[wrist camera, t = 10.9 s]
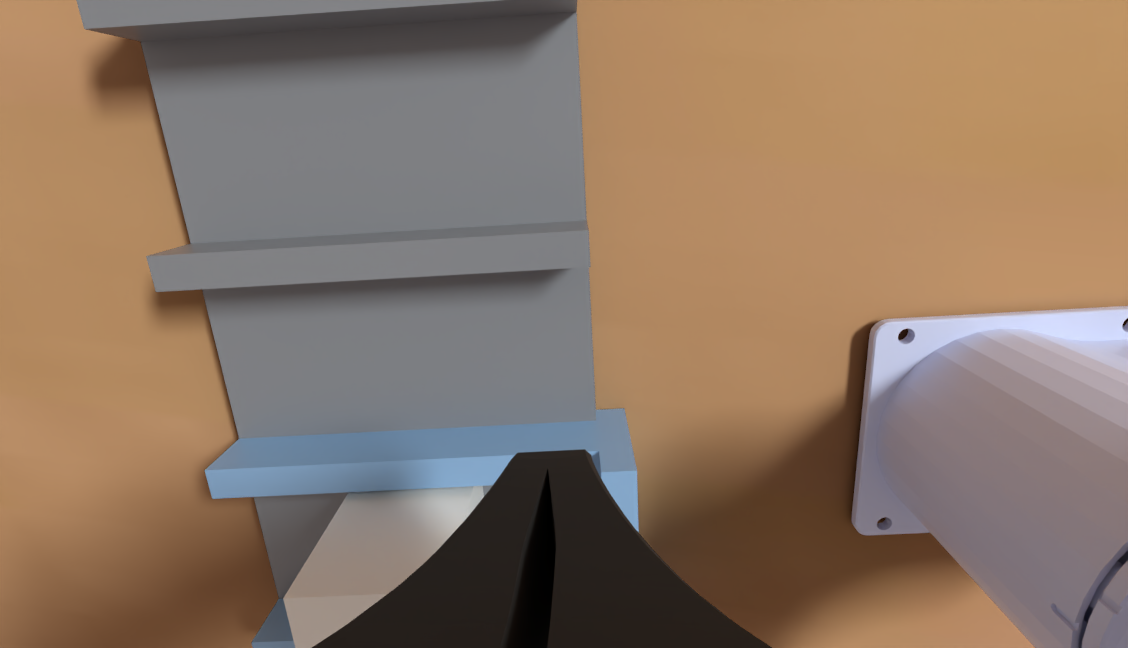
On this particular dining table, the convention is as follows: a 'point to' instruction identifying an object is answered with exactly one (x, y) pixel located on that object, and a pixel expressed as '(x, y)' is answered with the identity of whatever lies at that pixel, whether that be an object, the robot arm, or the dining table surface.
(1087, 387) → the robot arm
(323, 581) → the block
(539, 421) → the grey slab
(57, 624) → the dining table surface
